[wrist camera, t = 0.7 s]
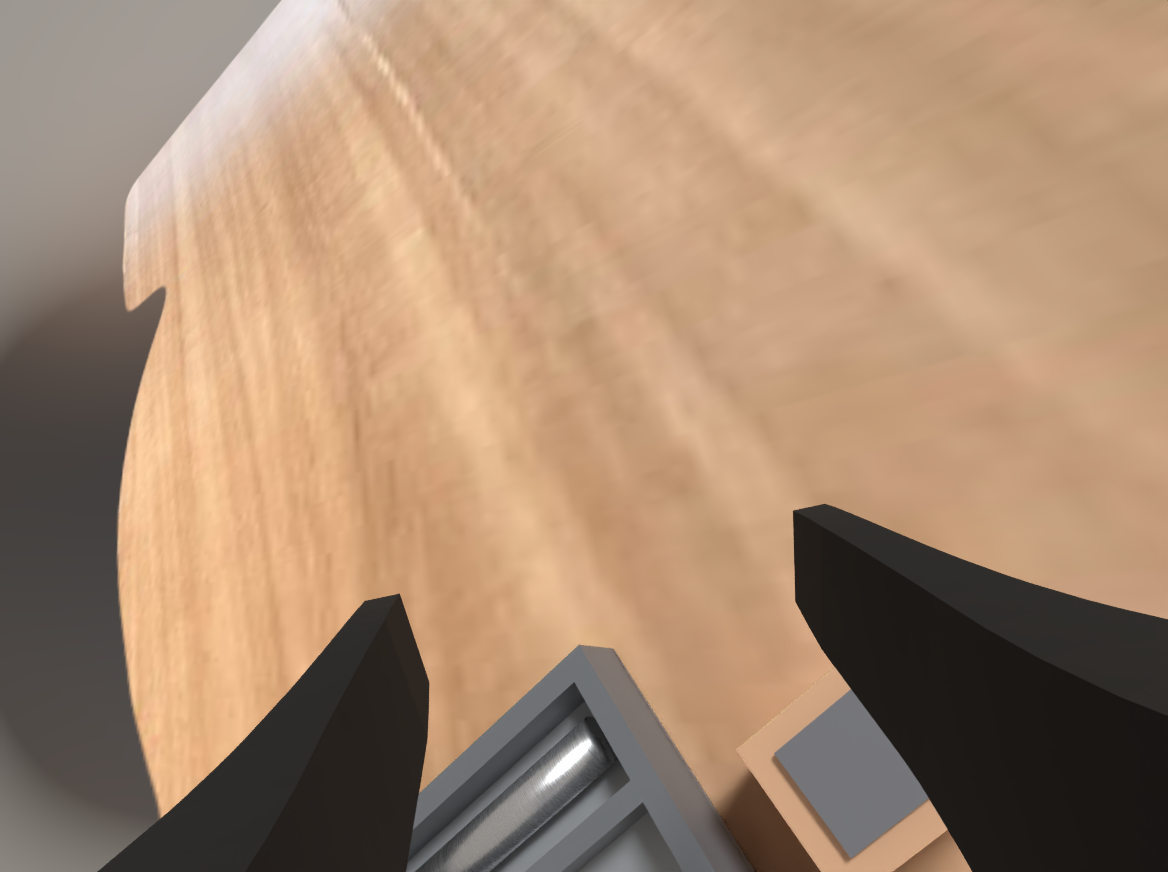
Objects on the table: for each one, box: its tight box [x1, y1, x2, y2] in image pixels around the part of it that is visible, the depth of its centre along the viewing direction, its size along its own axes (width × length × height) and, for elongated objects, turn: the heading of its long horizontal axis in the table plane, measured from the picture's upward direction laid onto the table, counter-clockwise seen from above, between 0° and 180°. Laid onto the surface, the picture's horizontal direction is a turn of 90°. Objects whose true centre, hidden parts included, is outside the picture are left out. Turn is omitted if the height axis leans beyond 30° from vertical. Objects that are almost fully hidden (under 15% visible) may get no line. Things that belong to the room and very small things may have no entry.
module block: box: [736, 667, 948, 872], centre depth 19 cm, size 4×7×5 cm, turn 127°
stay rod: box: [415, 716, 618, 872], centre depth 26 cm, size 12×2×2 cm, turn 126°
